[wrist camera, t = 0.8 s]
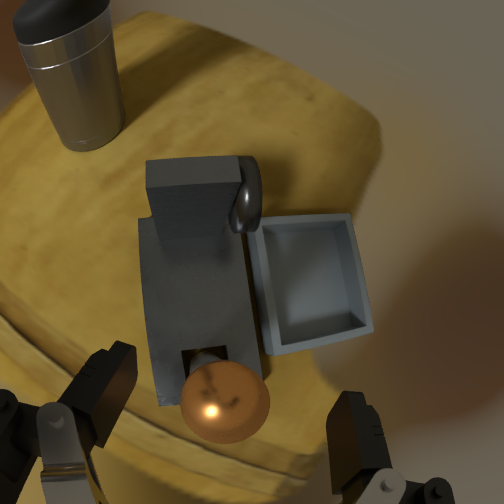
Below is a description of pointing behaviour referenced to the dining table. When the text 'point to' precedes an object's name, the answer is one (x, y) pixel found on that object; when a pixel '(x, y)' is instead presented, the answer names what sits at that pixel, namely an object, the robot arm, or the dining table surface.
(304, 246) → the tray
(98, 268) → the dining table surface
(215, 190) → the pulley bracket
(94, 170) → the dining table surface
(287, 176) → the dining table surface
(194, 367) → the lock pin
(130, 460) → the dining table surface
